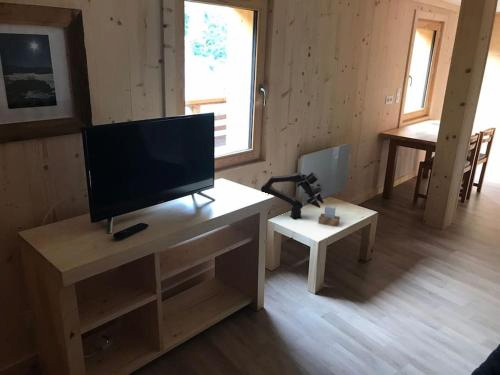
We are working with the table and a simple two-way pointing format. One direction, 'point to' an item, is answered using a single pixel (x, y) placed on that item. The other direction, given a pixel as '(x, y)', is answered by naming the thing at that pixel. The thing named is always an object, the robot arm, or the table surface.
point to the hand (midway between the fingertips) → (321, 205)
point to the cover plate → (330, 212)
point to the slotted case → (329, 220)
